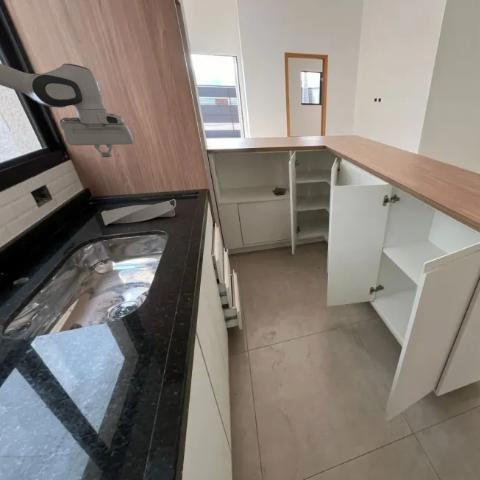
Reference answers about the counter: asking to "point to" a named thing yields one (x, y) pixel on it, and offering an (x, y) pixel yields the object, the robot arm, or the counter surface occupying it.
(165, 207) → the grey twisted bar
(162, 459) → the counter surface
